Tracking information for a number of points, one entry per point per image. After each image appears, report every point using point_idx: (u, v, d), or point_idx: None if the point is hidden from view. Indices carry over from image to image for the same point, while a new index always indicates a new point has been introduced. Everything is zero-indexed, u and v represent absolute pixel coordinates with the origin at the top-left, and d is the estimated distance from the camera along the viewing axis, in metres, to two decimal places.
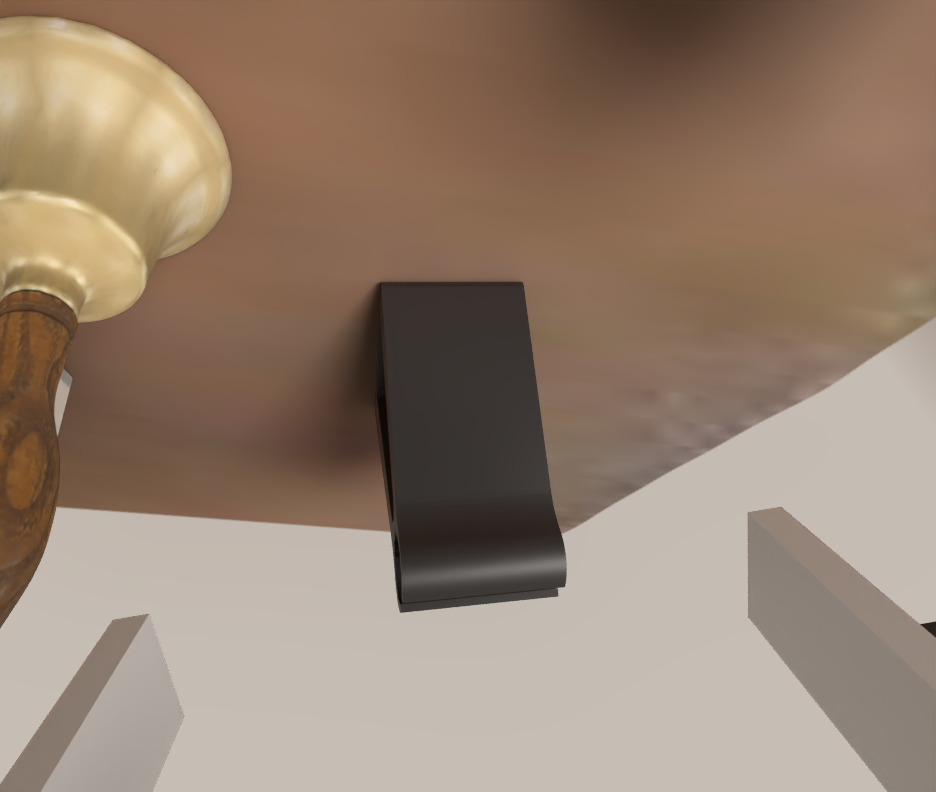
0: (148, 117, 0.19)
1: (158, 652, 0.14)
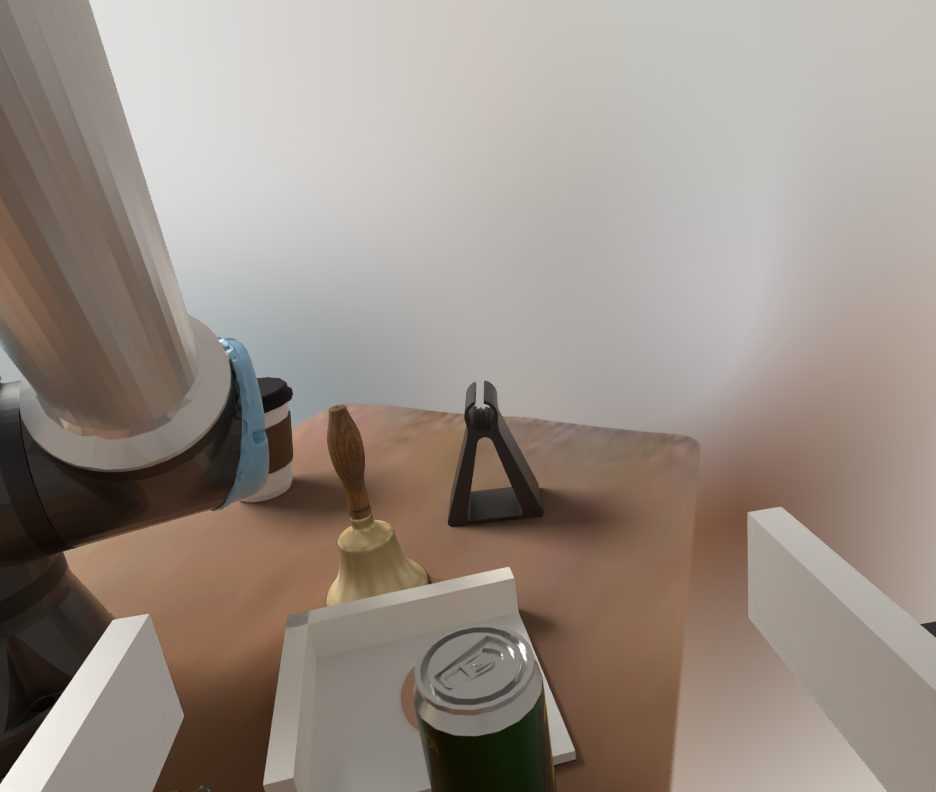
0: None
1: (158, 652, 0.14)
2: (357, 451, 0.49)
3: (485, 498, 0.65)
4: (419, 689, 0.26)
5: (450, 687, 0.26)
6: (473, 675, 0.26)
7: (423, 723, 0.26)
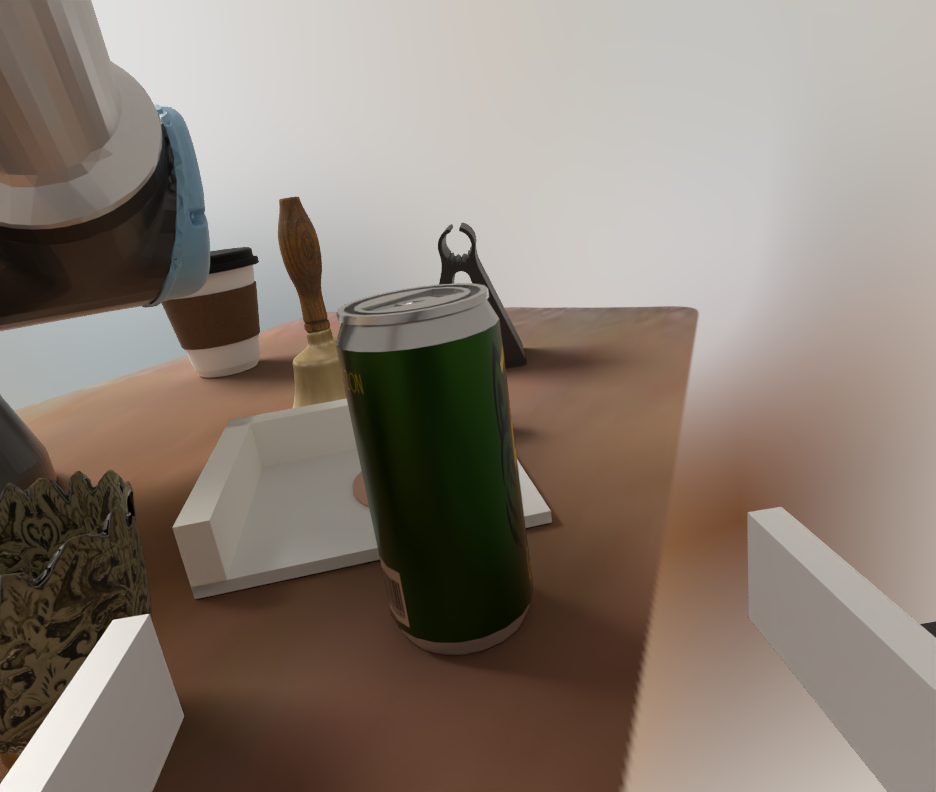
0: None
1: (158, 651, 0.14)
2: (311, 247, 0.43)
3: None
4: (340, 316, 0.20)
5: None
6: None
7: (345, 357, 0.20)
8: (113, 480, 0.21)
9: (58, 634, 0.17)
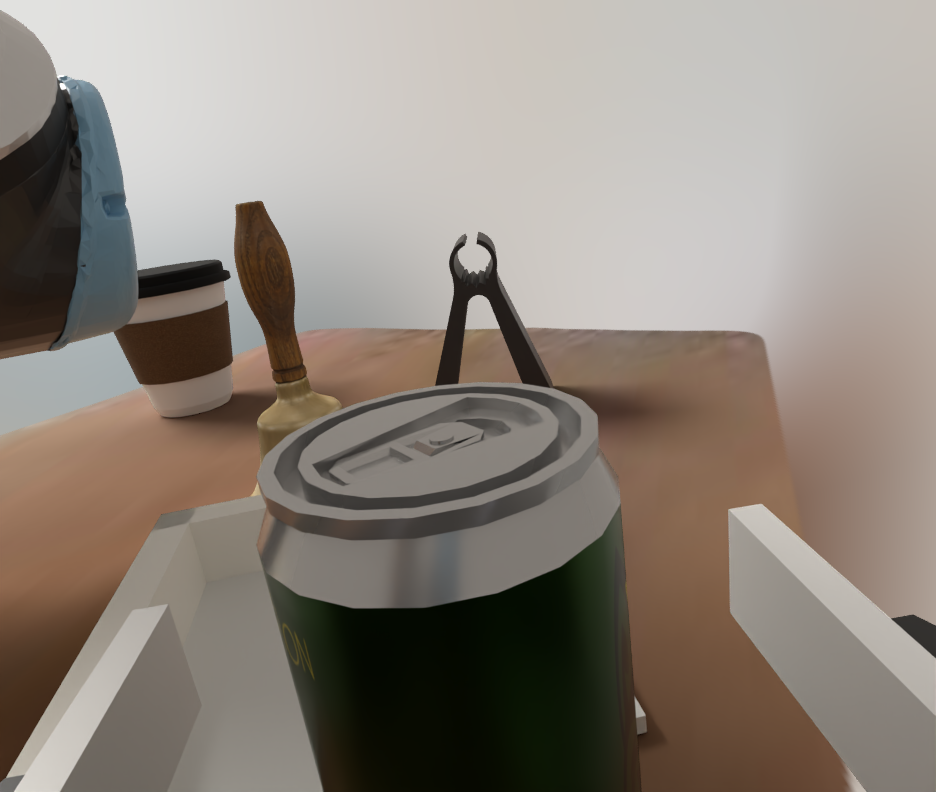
0: None
1: (176, 641, 0.14)
2: (280, 270, 0.32)
3: None
4: (262, 489, 0.09)
5: None
6: None
7: (272, 589, 0.09)
8: None
9: None
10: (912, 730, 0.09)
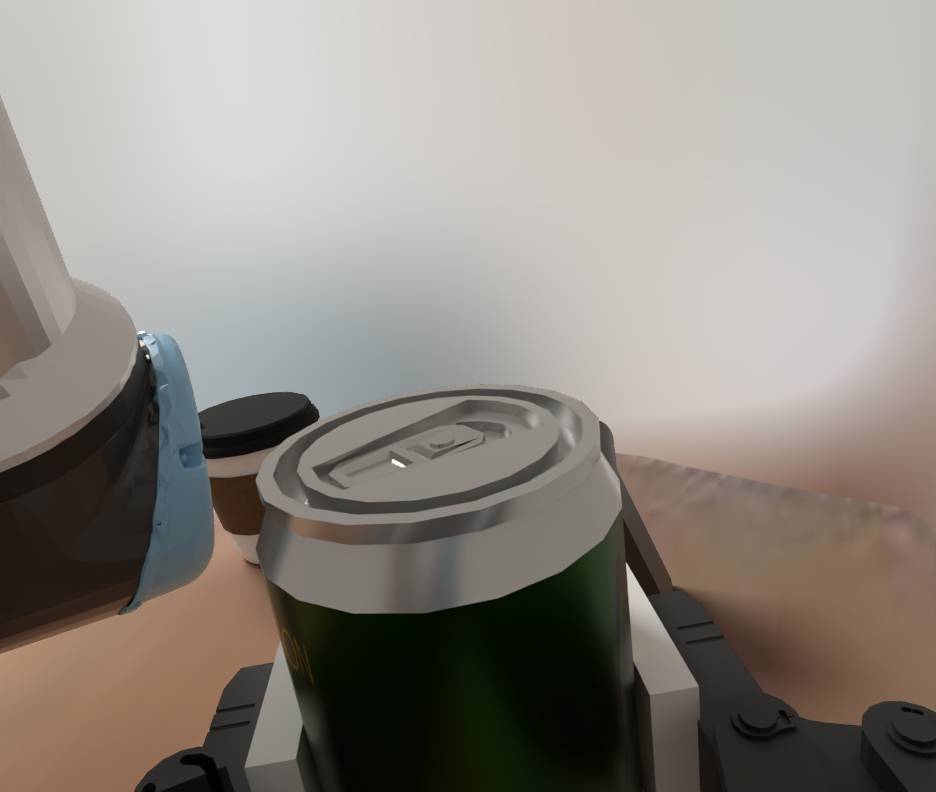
0: None
1: None
2: None
3: None
4: (261, 493, 0.09)
5: None
6: None
7: (271, 593, 0.09)
8: None
9: None
10: None
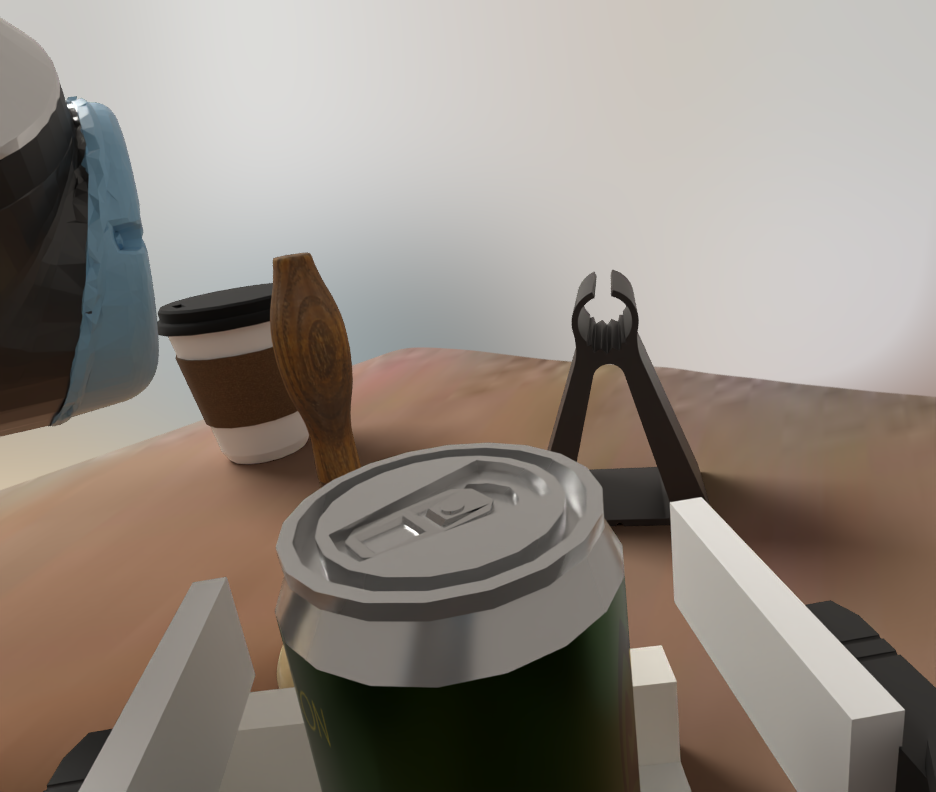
0: None
1: (234, 613, 0.15)
2: (329, 352, 0.22)
3: (601, 482, 0.37)
4: (281, 562, 0.09)
5: (371, 557, 0.09)
6: (437, 531, 0.10)
7: (290, 658, 0.09)
8: None
9: None
10: (811, 705, 0.10)
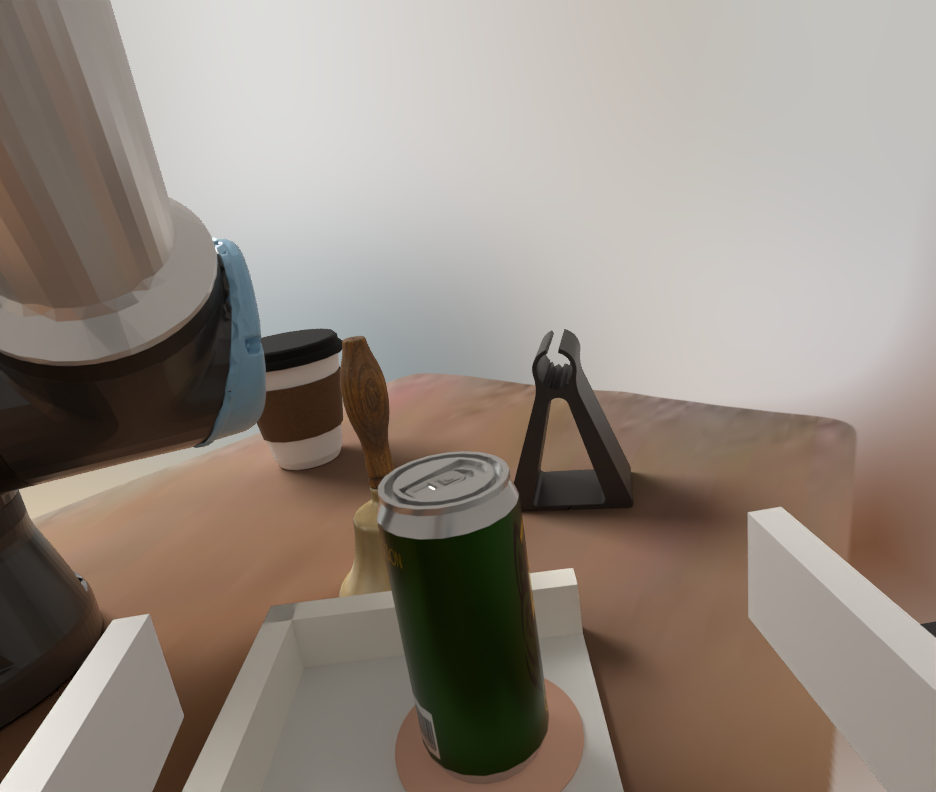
0: None
1: (158, 652, 0.14)
2: (376, 397, 0.37)
3: (560, 480, 0.52)
4: (381, 499, 0.23)
5: None
6: (441, 487, 0.24)
7: (386, 536, 0.23)
8: None
9: None
10: None
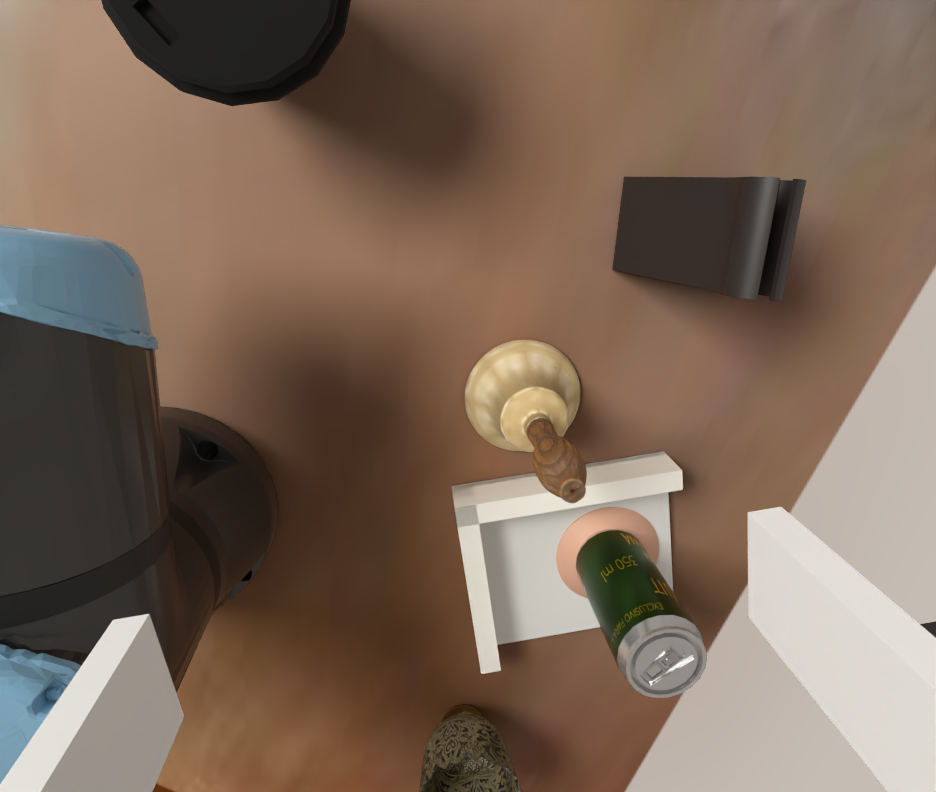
0: (496, 368, 0.44)
1: (157, 652, 0.14)
2: None
3: None
4: (631, 684, 0.39)
5: (650, 677, 0.39)
6: (664, 668, 0.39)
7: (625, 676, 0.40)
8: (498, 765, 0.47)
9: None
10: None
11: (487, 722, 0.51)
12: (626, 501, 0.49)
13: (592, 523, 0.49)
